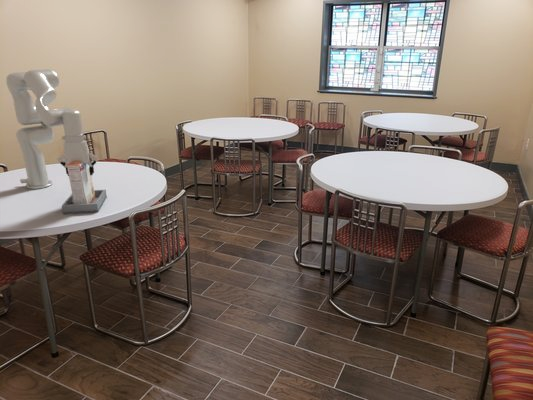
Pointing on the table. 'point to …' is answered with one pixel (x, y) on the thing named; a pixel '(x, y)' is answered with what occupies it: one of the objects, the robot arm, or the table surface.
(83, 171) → the cracker box
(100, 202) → the tray
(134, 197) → the table surface
